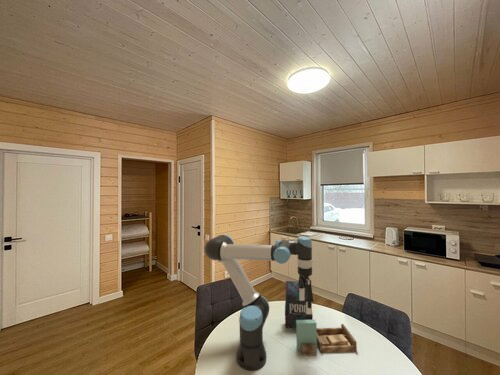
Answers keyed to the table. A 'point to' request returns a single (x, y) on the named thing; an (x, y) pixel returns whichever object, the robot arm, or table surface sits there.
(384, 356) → the table surface
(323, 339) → the offcut
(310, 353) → the stand
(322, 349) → the wooden tray
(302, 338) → the pale green block
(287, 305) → the dark coffee bag
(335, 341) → the offcut
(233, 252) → the robot arm
